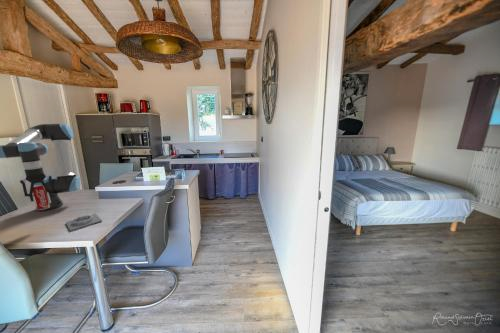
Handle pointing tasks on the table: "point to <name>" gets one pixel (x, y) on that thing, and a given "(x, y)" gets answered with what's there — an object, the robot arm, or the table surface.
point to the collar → (78, 222)
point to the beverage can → (41, 197)
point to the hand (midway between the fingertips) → (43, 203)
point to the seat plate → (75, 227)
